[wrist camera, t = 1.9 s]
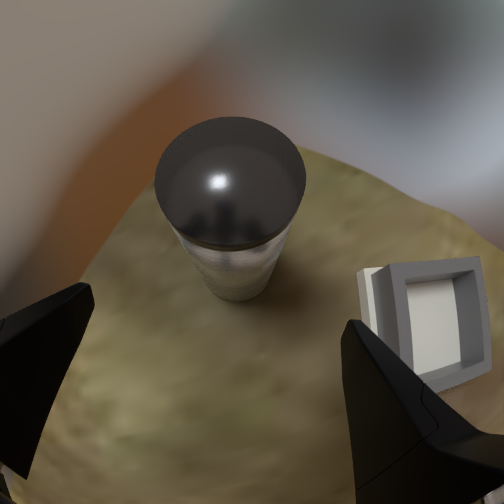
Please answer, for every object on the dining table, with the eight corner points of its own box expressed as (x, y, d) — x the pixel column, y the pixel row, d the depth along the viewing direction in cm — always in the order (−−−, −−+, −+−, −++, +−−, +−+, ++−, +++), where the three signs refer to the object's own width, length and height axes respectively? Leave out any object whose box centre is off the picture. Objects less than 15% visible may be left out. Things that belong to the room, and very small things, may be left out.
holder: (461, 373, 19) (495, 374, 14) (366, 402, 18) (394, 413, 14) (450, 264, 22) (481, 249, 17) (356, 273, 21) (381, 256, 17)
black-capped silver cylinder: (273, 299, 20) (316, 239, 9) (203, 303, 20) (148, 247, 8) (268, 233, 22) (294, 116, 10) (202, 236, 22) (162, 122, 10)
